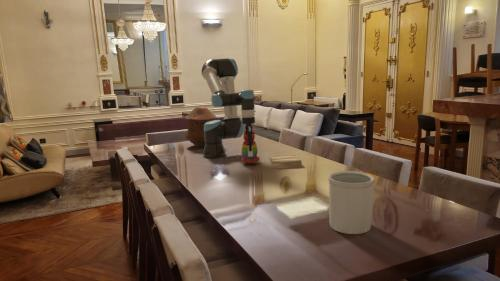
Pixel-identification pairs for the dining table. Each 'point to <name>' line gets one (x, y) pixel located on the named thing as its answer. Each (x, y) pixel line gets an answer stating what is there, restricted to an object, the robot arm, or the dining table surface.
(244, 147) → the stacking bear
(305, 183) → the dining table surface
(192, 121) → the pottery vessel
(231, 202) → the dining table surface
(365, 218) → the utensil holder
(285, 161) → the maple block
